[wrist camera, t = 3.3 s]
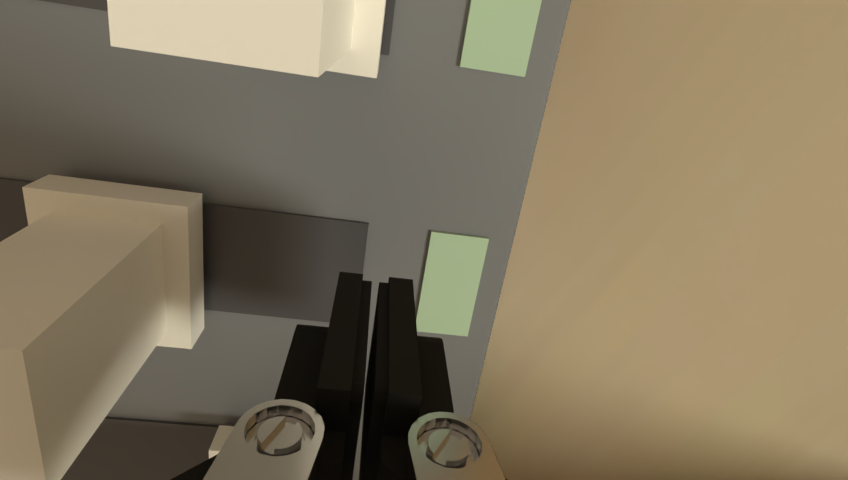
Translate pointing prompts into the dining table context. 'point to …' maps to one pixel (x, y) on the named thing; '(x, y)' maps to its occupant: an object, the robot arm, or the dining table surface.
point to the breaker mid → (89, 309)
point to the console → (288, 190)
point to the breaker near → (256, 32)
